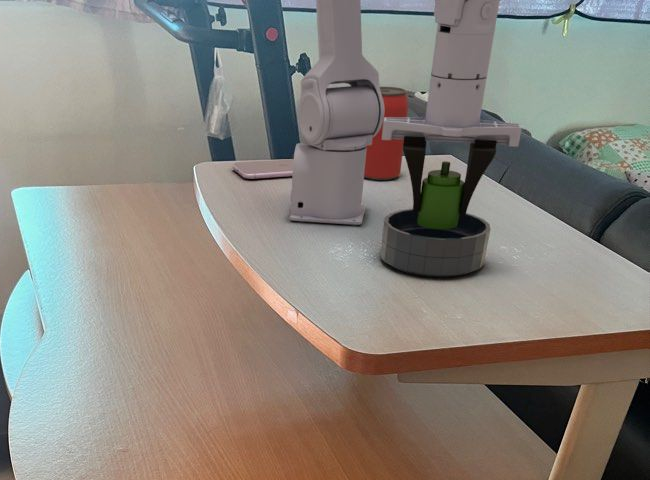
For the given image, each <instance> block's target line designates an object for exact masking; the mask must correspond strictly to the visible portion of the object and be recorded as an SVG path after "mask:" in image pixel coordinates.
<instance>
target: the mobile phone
mask: <svg viewBox="0 0 650 480" xmlns="http://www.w3.org/2000/svg"><path fill="white" fill-rule="evenodd" d="M293 161H294V158H289V159H275V160H273V159H272V160H260V161H259V160H258V161H244V162H235V163H233V164H232V169H233V170H234V172H236V173H237V174H239V175H240V176H241V177H242V178H244V179H246V180H257V179H258V180H259V179H271V178H287V177H292V176H293Z"/></svg>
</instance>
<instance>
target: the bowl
mask: <svg viewBox="0 0 650 480" xmlns="http://www.w3.org/2000/svg"><path fill="white" fill-rule="evenodd" d="M417 219H418V212H413V208H407V209H399V210H396V211H394V212H390V213H388V214H387V215H386V216H385V217H384V219H383V227H382V236H381V237H382V238H381V244H380V245H381V246H380V253H379V257H380V258H381V259H382V261H383V262H384V263H386V264H388V265H389V266H391V267H393V268H394V269H396V270H398V271H401V272H404V273H407V274H410V275H415V276H421V277H427V278H452V277H459V276H463V275H466V274H470V273H472V272H475V271H478V270H480V269H482V267H483V265H484V264H485V260H486V255H487V250H488V246H489V239H490V234H491V225H490V223H489V222H487V220H485V219H484V218H483V217H479V216H477V215H475V214H473V213H472V214H471V213H467V212H466V215H459V219H458V225H457V227H455V228H452V229H445V230H437V229H429V228H425V227H422V226H420V225H419V224H418V223H417Z"/></svg>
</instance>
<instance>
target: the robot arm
mask: <svg viewBox="0 0 650 480" xmlns="http://www.w3.org/2000/svg"><path fill="white" fill-rule="evenodd" d="M501 1H502V0H434V10H433V17H434V22H435V24H437V27H436V34H435V40H434V41H435V43H434V50H433V57H432V65H431V73H430V78H429V79H430V80H429V88H428V94H427V95H428V96H427V103H426V111H425V116H412V117H411V116H409V117H408V116H407V117H404V118H392V117H385V118H384V112H385V108H384V101H383V98H382V94H381V92H380V87H381V86H380V78H379V77H380V74H379V73H380V72H379V71H378V70H377V69H376V68H375V66H374V65H373V64H371V63H370V62H369V61H368V60H367V58H366V57H365V56H364V55H363V37H362V35H363V34H362V10H361V9H362V7H361V6H362V5H361V0H315V9H316V25H317V26H316V29H317V44H318V47H317V48H318V60H317V62H316V63H315V64H314V65H313V66H312V67H311V68H310V70H308V72H306V73H305V75H304V76H303V77H302V79H301V80H300V101H299V105H298V110H297V121H298V127H299V130H300V133H301V135H302V137H303V138H304V140H305V142H303V143H301V142H300V143H299V142H298V143H296V145H295V149H294V153H293V159H294V161H293V176H291V177H292V178H291V181H292V182H291V190H290V215H289V220H290V221H292V222H307V223H309V222H310V223H323V224H336V225H337V224H339V225H354V226H355V225H356V226H360V225H362V224H363V219H364V214H365V210H366V206H365V205H364V204H362V202H363V191H364V180H365V178H364V172H365V161H366V150H367V146H368V145H372V138H373V137H374V136H376V135H377V133H378V132H379V130H380V129H381V126H382V123H383V131H382V140H392V139H403V140H404V142H403V156H404V158H405V161H406V164H407V169H408V172H409V179H410V183H411V189H412V209H413V212H419V209H420V199H421V189H422V181H423V174H424V173H423V172H424V166H425V161H426V160H425V159H426V153H427V152H426V149H427V142H442V143H443V142H445V143H461V144H462V143H464V144H469V150H468V159H467V165H466V173H465V179H464V181H463V182H464V189H463V195H462V201H461V206H460V212H459V215H466V213H467V211H468V208H469V204H470V202H471V200H472V197H473V195H474V192H475V190H476V188H477V186H478V185H479V182H480V181H481V178H482V177H483V175H484V174H485V173H486V170H487V169H488V167H489V166H490V164H491V163H492V162H493V159H494V158H495V156H496V154H497V145H505V146H508V147H513V148H514V147H515V148H518V147H519V145H520V140H521V135H522V131H523V126H522V124H521V123H517V122H503V121H495V120H485V119H481V114H482V110H483V109H482V108H483V103H484V96H485V91H486V84H487V78H488V73H489V67H490V61H491V55H492V50H493V49H492V48H493V44H494V43H493V42H494V37H495V31H496V25H497V19H498V14H499V6H500V2H501ZM337 84H338V85H339V84H347V86H338V87H337V86H336V87H329V86H330V85H337ZM348 85H349V86H348ZM383 119H384V122H383Z"/></svg>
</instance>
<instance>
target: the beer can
mask: <svg viewBox="0 0 650 480" xmlns="http://www.w3.org/2000/svg"><path fill="white" fill-rule="evenodd" d="M379 87H380V92H381V94H382V98H383V101H384V108H385V112H384V118H385V117H392V118H404V117H408V113H409V103H408V97H407V93H408V92H407V90H406V89H405V88H402V87H397V86H396V87H395V86H379ZM383 122H384V119H383ZM382 131H383V123H382V126H381V129H380V130H379V132H378V133H377V135H376V136H374V137H373V138H372V145H368V146H367V150H366V161H365V172H364V179H367V180H372V181H390V180H394V179H396V178H398V177H399V176H400V174H401V171H402V170H401V169H402V162H403V155H404V151H403V142H404V140H403V139H392V140H382Z"/></svg>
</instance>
